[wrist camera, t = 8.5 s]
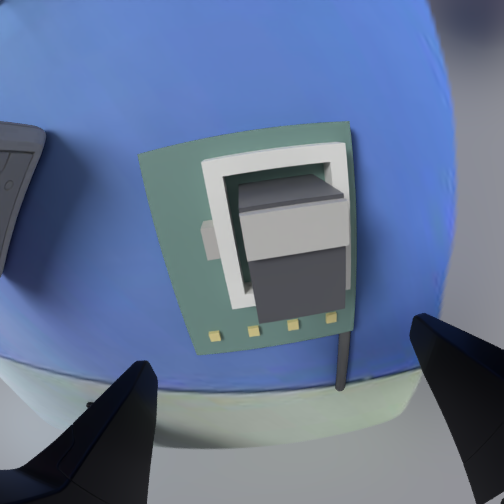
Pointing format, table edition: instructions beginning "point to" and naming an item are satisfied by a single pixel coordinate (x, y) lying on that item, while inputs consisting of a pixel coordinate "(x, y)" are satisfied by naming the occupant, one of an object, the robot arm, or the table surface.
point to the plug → (295, 245)
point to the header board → (229, 227)
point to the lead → (342, 360)
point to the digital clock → (15, 174)
